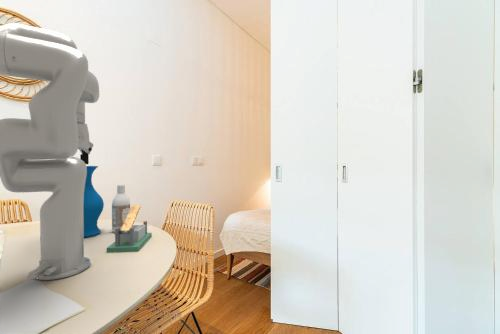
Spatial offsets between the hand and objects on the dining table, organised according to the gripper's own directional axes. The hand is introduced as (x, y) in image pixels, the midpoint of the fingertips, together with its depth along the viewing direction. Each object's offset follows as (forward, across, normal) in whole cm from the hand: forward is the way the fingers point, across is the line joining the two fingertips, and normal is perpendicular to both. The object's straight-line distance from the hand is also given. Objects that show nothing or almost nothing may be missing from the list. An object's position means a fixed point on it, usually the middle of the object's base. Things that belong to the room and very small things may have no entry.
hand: (73, 164), depth 91 cm
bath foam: (+29, +15, -8) cm, 34 cm away
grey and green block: (+29, +2, -23) cm, 37 cm away
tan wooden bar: (+21, +1, -23) cm, 31 cm away
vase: (+29, +7, +2) cm, 30 cm away
